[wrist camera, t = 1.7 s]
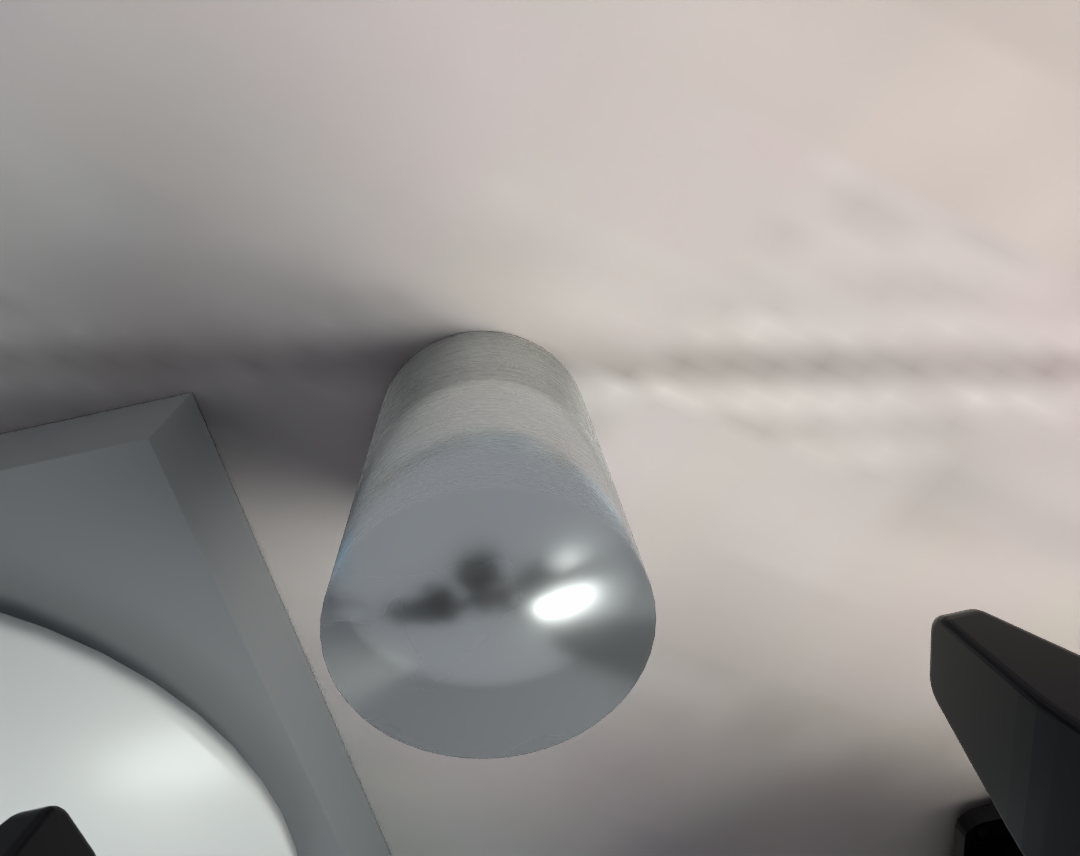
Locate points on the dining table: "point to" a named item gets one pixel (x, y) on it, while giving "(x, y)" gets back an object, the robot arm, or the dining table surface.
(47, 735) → the scale
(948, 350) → the dining table surface
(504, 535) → the cylinder
